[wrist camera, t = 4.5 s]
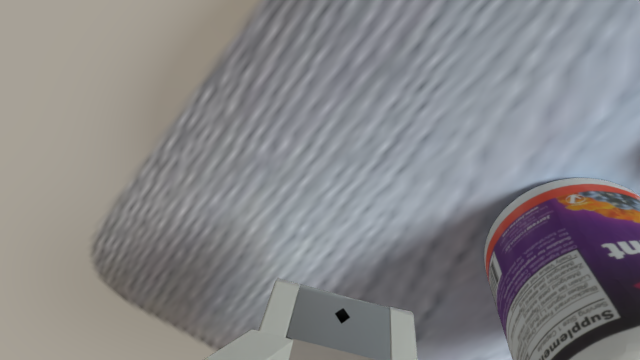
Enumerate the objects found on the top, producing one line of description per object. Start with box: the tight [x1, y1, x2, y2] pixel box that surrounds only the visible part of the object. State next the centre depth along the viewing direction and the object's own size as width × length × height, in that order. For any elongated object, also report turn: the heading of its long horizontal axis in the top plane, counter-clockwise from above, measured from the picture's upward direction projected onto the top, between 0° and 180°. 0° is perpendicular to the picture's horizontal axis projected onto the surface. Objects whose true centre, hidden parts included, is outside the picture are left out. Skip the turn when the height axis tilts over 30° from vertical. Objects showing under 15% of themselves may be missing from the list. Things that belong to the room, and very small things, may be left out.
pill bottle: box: [484, 178, 640, 360], centre depth 11 cm, size 5×5×10 cm
